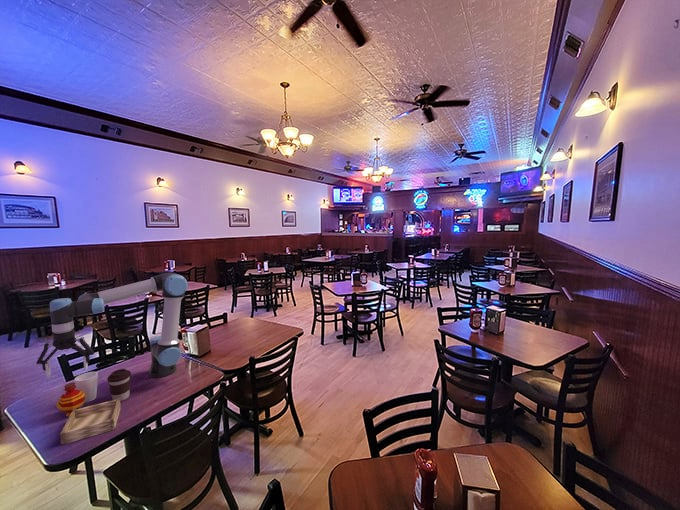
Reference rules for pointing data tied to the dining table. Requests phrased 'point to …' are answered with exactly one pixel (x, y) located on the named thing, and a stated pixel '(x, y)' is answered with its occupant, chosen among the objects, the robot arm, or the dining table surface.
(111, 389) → the coffee cup
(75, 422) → the tray
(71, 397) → the potion bottle
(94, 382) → the foam cup
